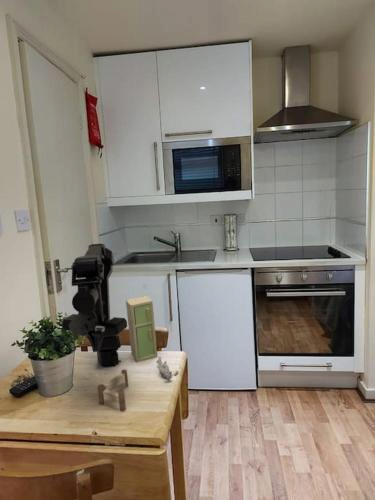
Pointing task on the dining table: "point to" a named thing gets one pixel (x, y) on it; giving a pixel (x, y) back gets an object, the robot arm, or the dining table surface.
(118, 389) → the fence gate
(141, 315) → the toy refrigerator
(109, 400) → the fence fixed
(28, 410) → the dining table surface
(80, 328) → the robot arm
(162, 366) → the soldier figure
